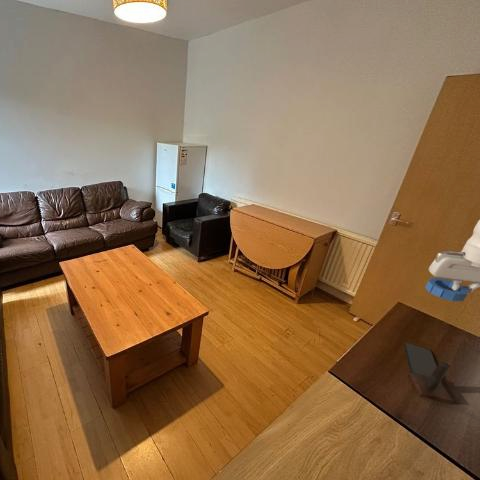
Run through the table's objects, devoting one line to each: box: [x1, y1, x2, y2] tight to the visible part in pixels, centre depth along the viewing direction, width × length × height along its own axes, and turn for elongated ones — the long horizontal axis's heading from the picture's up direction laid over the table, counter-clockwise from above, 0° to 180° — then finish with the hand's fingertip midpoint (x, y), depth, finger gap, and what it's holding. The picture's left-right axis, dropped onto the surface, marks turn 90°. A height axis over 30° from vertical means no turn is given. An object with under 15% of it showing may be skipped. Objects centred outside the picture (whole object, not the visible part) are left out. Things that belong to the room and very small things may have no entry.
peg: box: [407, 360, 455, 405], centre depth 72 cm, size 7×7×10 cm
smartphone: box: [403, 342, 444, 385], centre depth 82 cm, size 7×1×15 cm
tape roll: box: [424, 277, 469, 302], centre depth 86 cm, size 9×10×3 cm
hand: (461, 290), depth 85 cm, fingers closed on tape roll
